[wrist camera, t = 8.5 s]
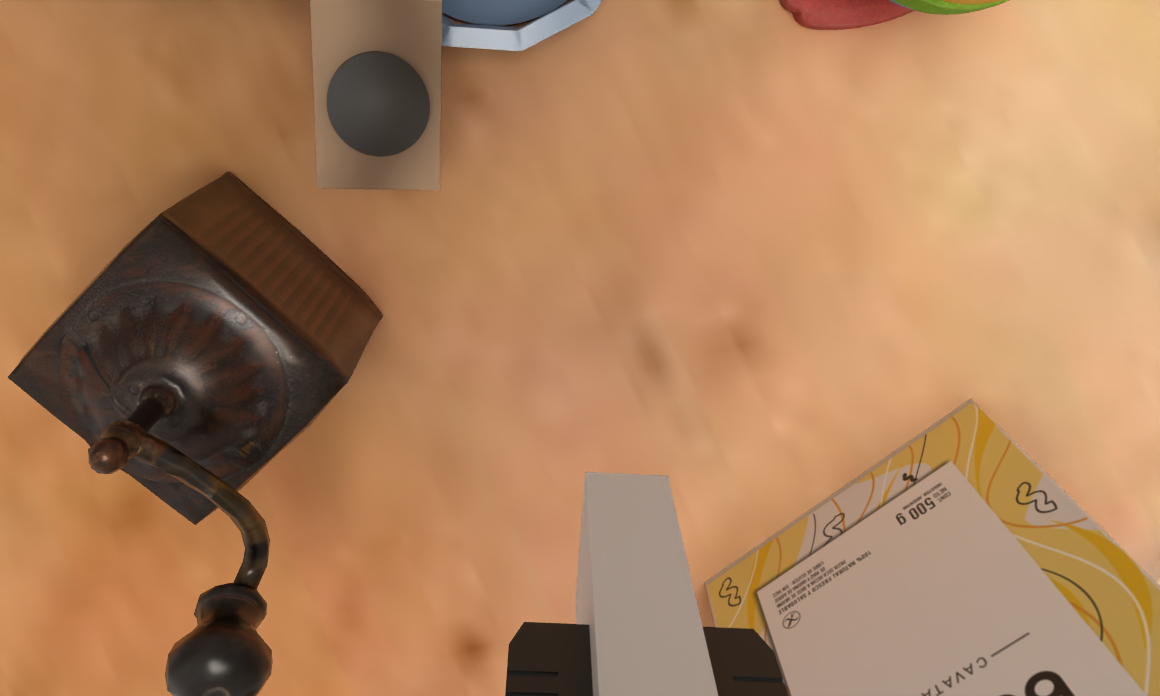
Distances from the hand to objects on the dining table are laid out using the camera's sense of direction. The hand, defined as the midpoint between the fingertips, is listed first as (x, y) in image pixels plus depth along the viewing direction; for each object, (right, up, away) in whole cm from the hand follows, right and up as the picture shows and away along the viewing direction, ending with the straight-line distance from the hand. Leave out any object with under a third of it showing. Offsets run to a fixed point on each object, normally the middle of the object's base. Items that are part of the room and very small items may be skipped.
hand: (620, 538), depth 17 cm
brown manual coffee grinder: (-16, +4, +31) cm, 35 cm away
